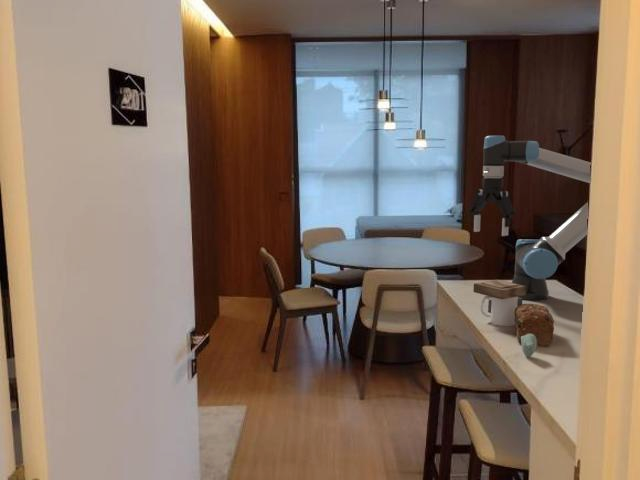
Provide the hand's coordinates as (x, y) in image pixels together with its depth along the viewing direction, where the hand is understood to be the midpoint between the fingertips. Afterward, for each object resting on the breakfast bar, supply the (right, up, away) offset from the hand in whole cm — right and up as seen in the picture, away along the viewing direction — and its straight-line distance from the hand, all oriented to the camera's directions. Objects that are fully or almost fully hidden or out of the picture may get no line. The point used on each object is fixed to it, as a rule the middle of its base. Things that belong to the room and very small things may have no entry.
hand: (490, 233), depth 230 cm
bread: (+2, -33, -40) cm, 52 cm away
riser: (+2, -29, -11) cm, 30 cm away
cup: (-4, -31, -24) cm, 39 cm away
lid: (-4, -20, -26) cm, 33 cm away
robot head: (-6, -36, -59) cm, 69 cm away
